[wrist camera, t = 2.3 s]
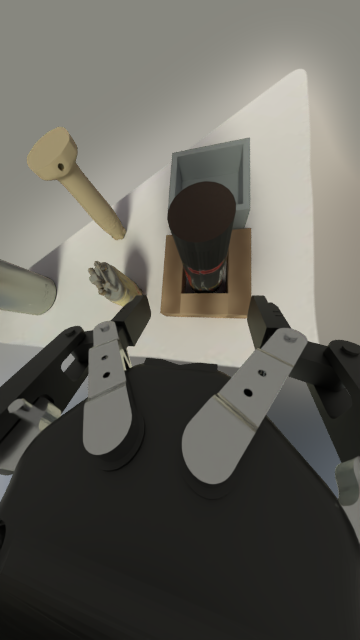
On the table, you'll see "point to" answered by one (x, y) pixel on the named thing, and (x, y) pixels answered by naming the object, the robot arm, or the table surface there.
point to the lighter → (113, 283)
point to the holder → (209, 303)
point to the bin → (216, 172)
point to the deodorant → (203, 232)
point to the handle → (72, 177)
